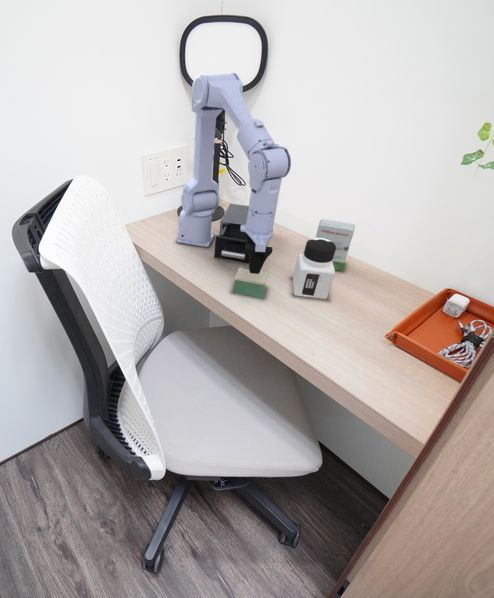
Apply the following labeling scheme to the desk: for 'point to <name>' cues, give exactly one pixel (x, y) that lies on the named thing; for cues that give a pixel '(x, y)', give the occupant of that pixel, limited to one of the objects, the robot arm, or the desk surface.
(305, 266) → the container
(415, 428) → the desk surface
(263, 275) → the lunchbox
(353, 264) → the desk surface
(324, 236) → the ink box
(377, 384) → the desk surface
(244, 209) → the small drawer cabinet
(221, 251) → the drawer
